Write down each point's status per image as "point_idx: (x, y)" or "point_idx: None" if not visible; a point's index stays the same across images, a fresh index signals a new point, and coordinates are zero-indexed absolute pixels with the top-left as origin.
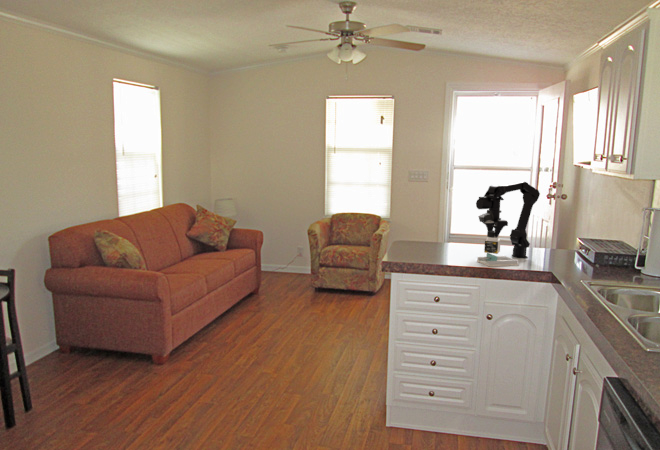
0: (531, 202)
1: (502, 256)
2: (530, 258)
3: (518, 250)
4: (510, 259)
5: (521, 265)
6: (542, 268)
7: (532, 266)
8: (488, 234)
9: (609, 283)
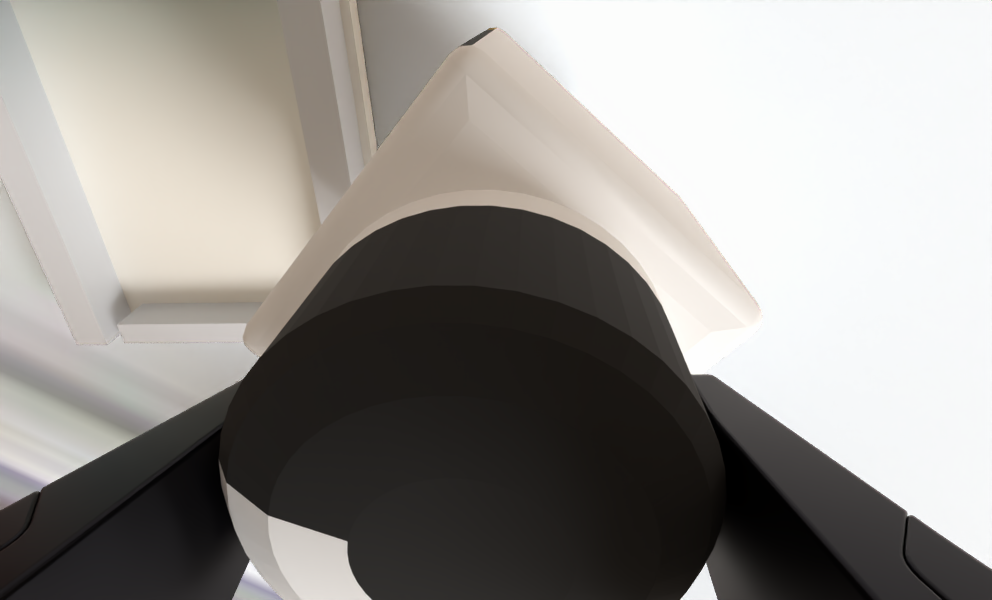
0: None
1: None
2: None
3: None
4: (218, 315)
5: (110, 345)
6: (7, 464)
7: (83, 427)
8: (433, 246)
9: None
